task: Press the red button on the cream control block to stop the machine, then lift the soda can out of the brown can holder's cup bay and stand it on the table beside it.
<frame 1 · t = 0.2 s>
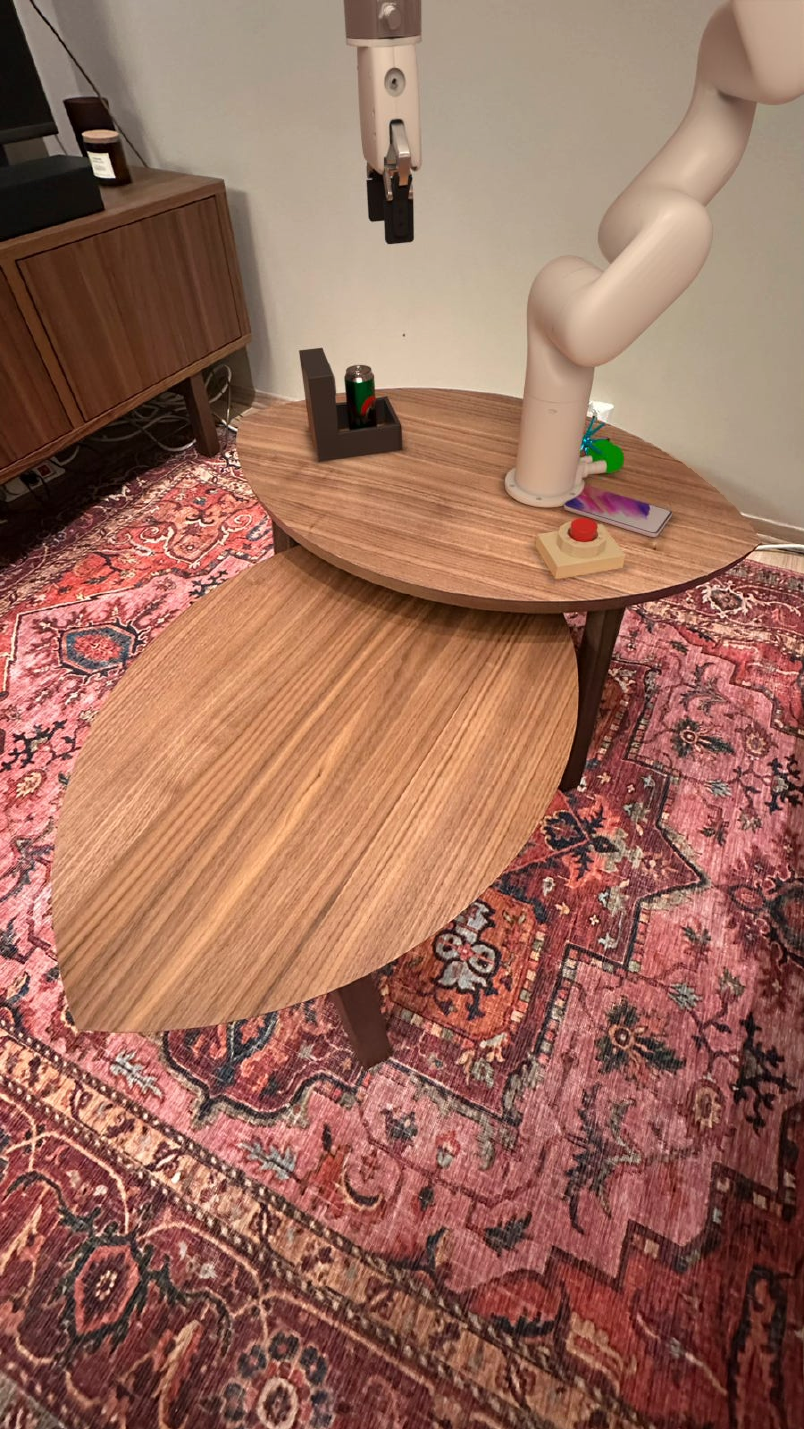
hand: (390, 231, 80), 37 cm above the table, tool pointing down, fingers open, 9 cm apart
stick construction toy: (592, 461, 116), on the table
brown can holder: (363, 439, 123), on the table
soda can: (363, 440, 123), resting in brown can holder
smartphone: (616, 514, 105), on the table, touching arm
button: (583, 530, 94), point 4 cm above the table, slide at 0.1 cm
control block: (578, 557, 98), on the table
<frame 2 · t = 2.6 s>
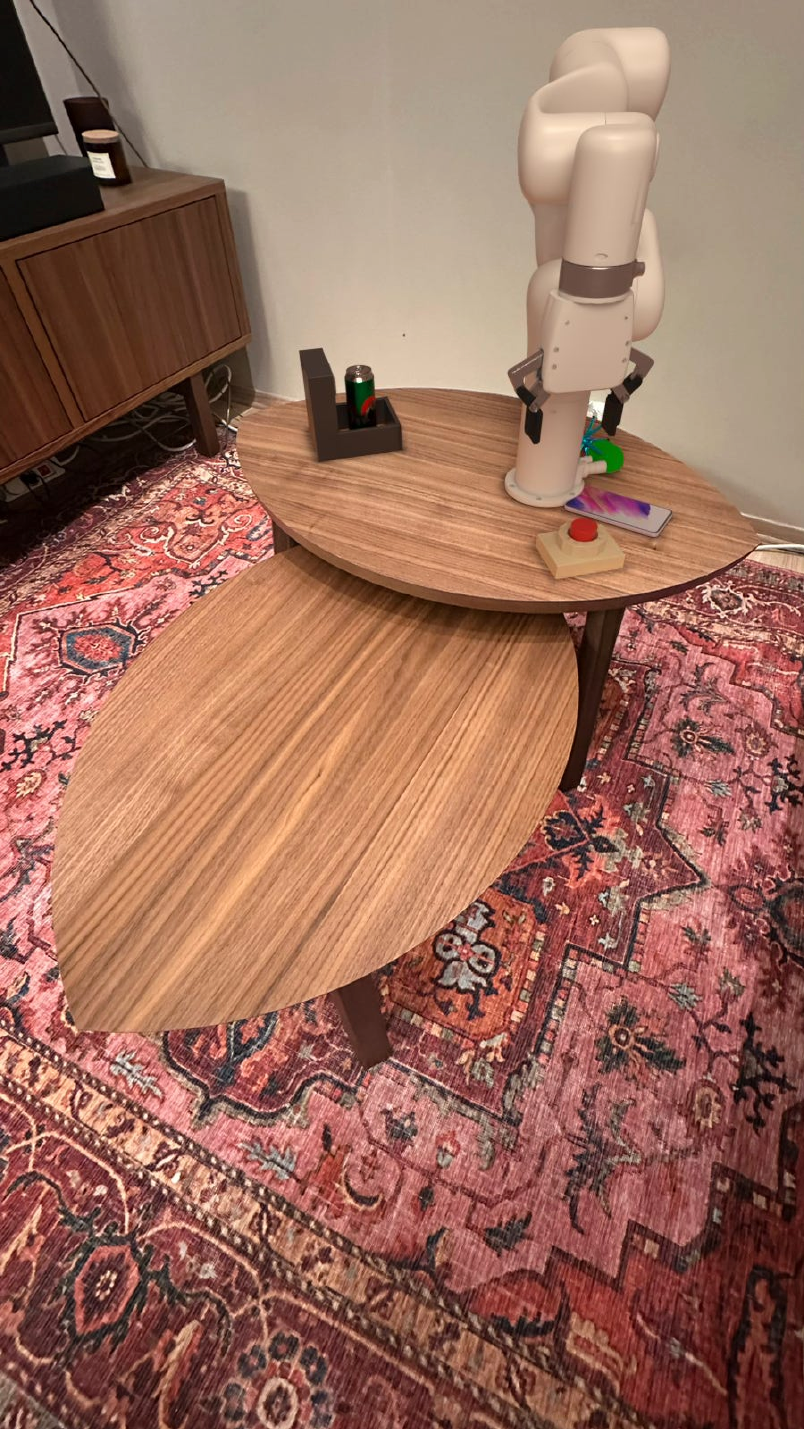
hand: (570, 435, 85), 18 cm above the table, tool pointing down, fingers open, 9 cm apart
nothing on the table moved.
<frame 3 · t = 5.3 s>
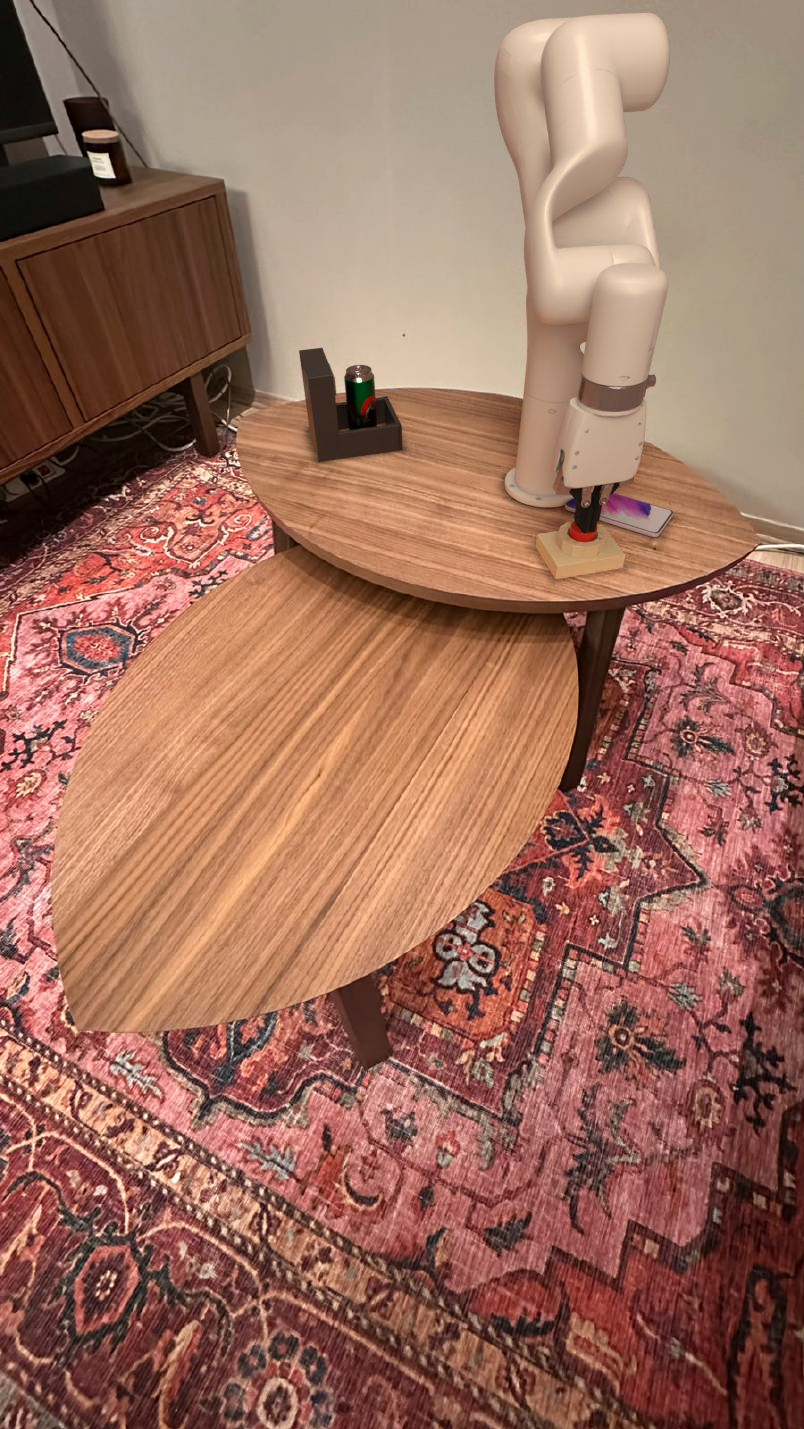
hand: (584, 527, 93), 5 cm above the table, tool pointing down, fingers closed
button: (583, 531, 94), point 4 cm above the table, slide at -0.1 cm, touching gripper
everything else where it was.
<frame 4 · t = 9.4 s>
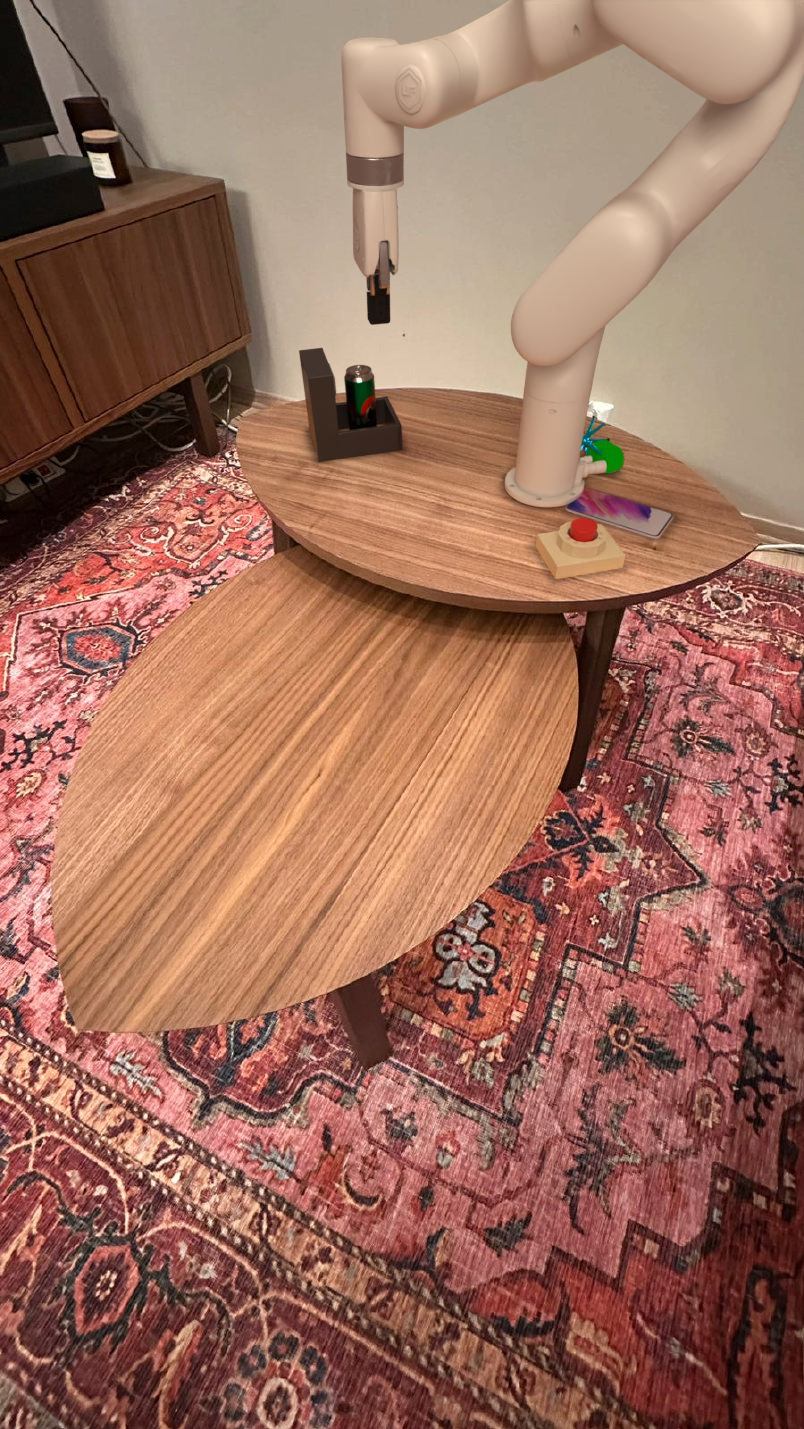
hand: (378, 321, 104), 21 cm above the table, tool pointing down, fingers closed
smartphone: (617, 516, 105), on the table
button: (583, 530, 94), point 4 cm above the table, slide at 0.1 cm
everything else where it was.
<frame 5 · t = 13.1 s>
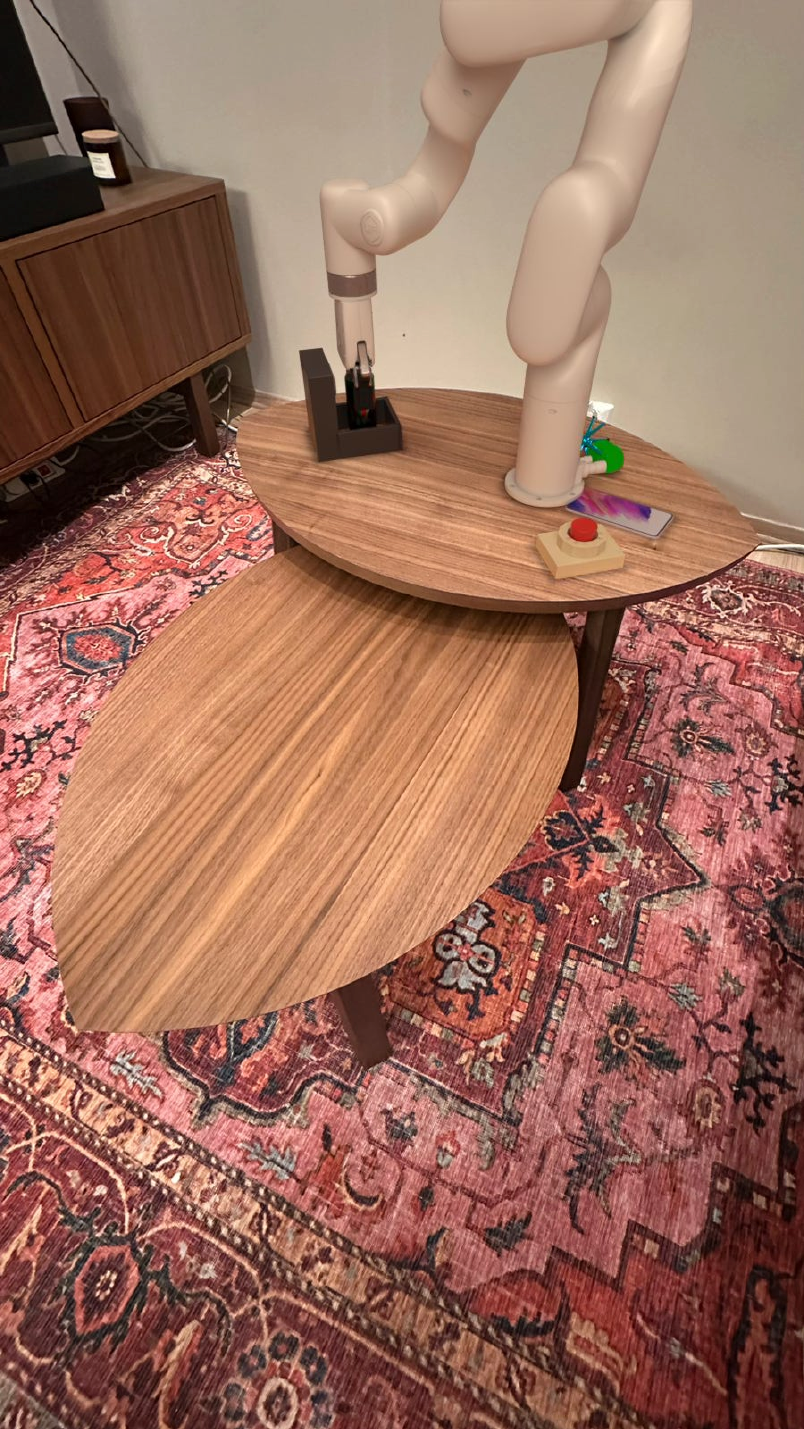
hand: (360, 401, 118), 7 cm above the table, tool pointing down, fingers closed on soda can, 5 cm apart
soda can: (363, 440, 123), resting in brown can holder, touching gripper
everything else where it was.
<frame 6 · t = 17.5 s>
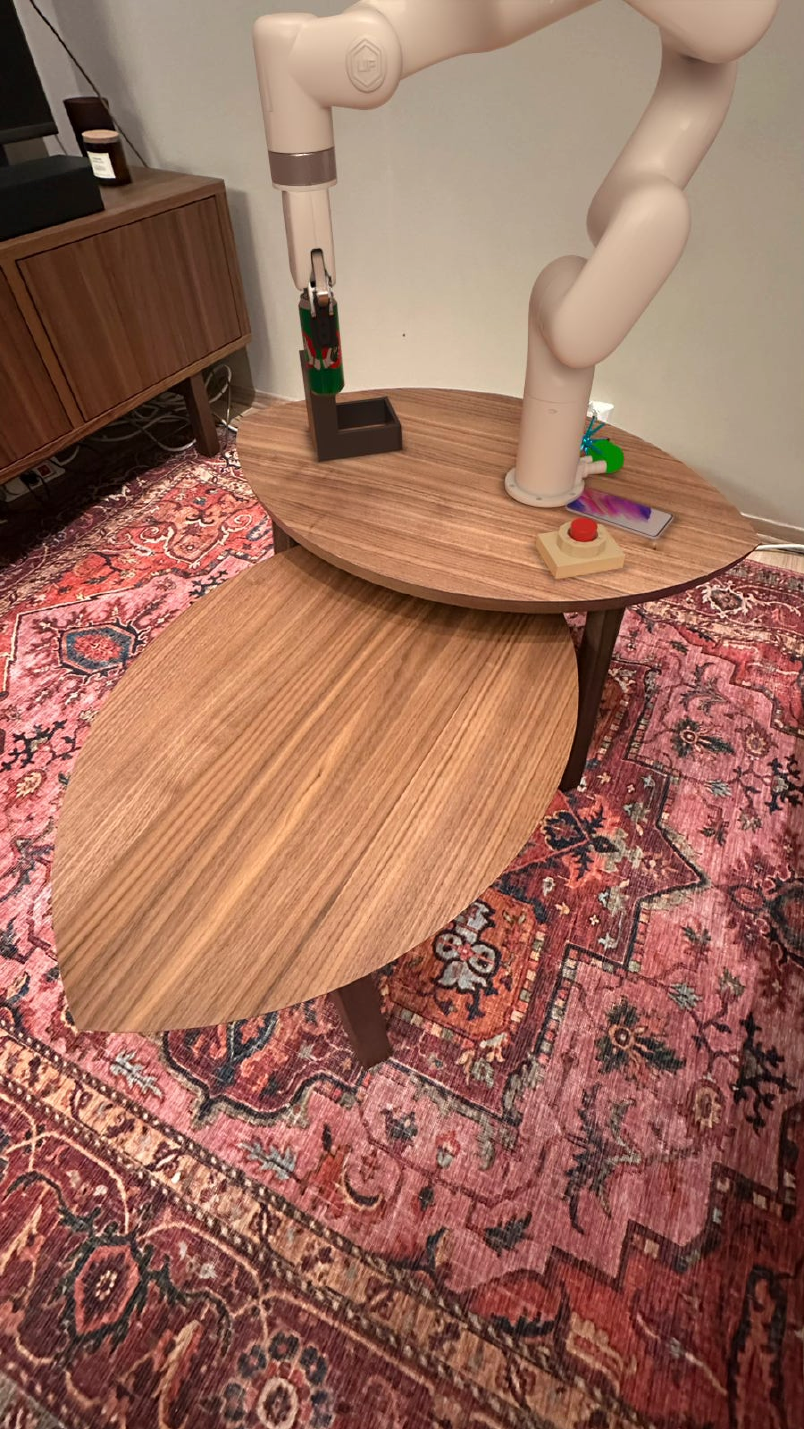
hand: (321, 338, 91), 24 cm above the table, tool pointing down, fingers closed on soda can, 5 cm apart
soda can: (327, 391, 97), point 17 cm above the table, touching gripper
everything else where it was.
when the fingers open (7 cm above the table, at t = 21.8 s): soda can stays where it is, on the table.
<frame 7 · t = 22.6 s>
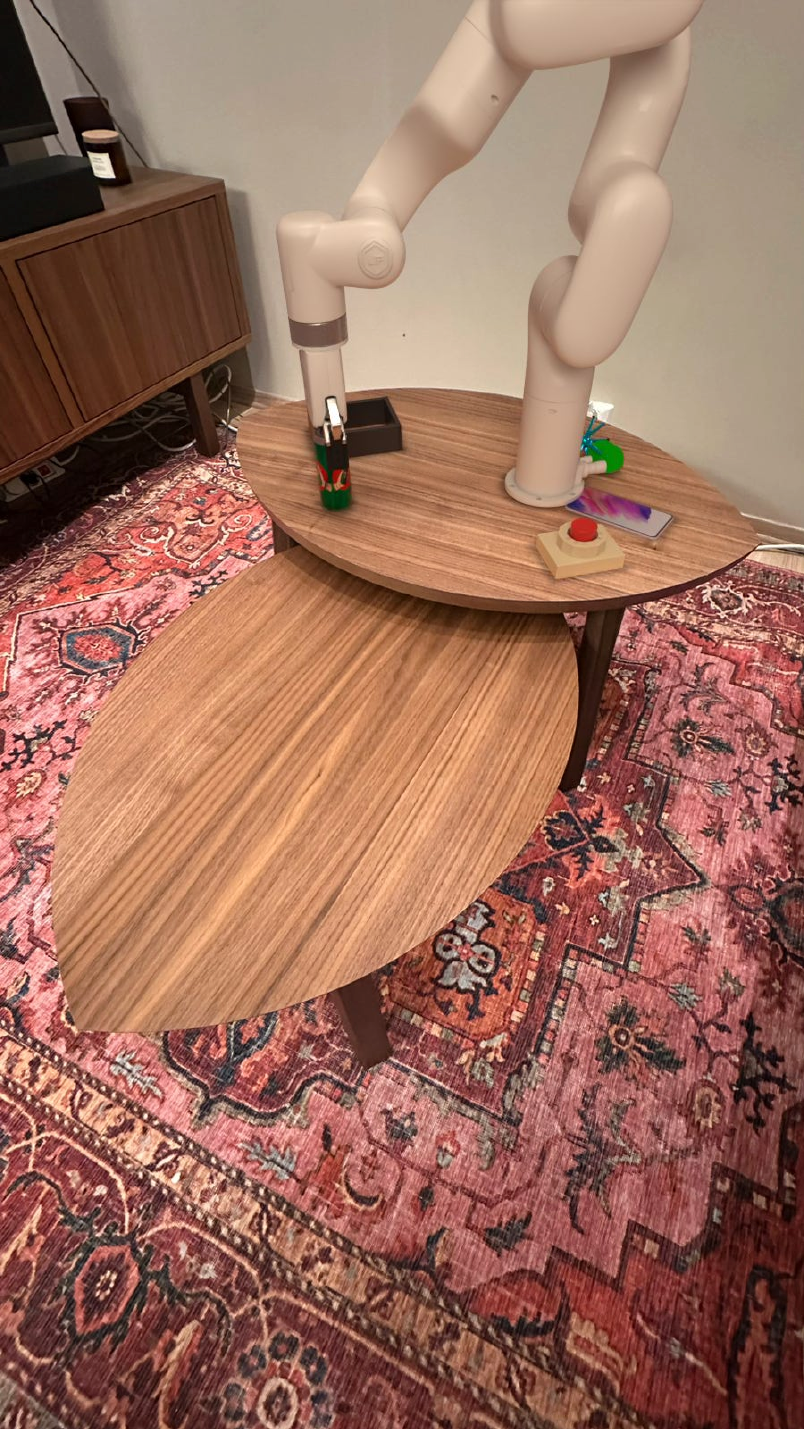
hand: (333, 453, 102), 9 cm above the table, tool pointing down, fingers open, 9 cm apart
soda can: (337, 505, 109), on the table
everything else where it was.
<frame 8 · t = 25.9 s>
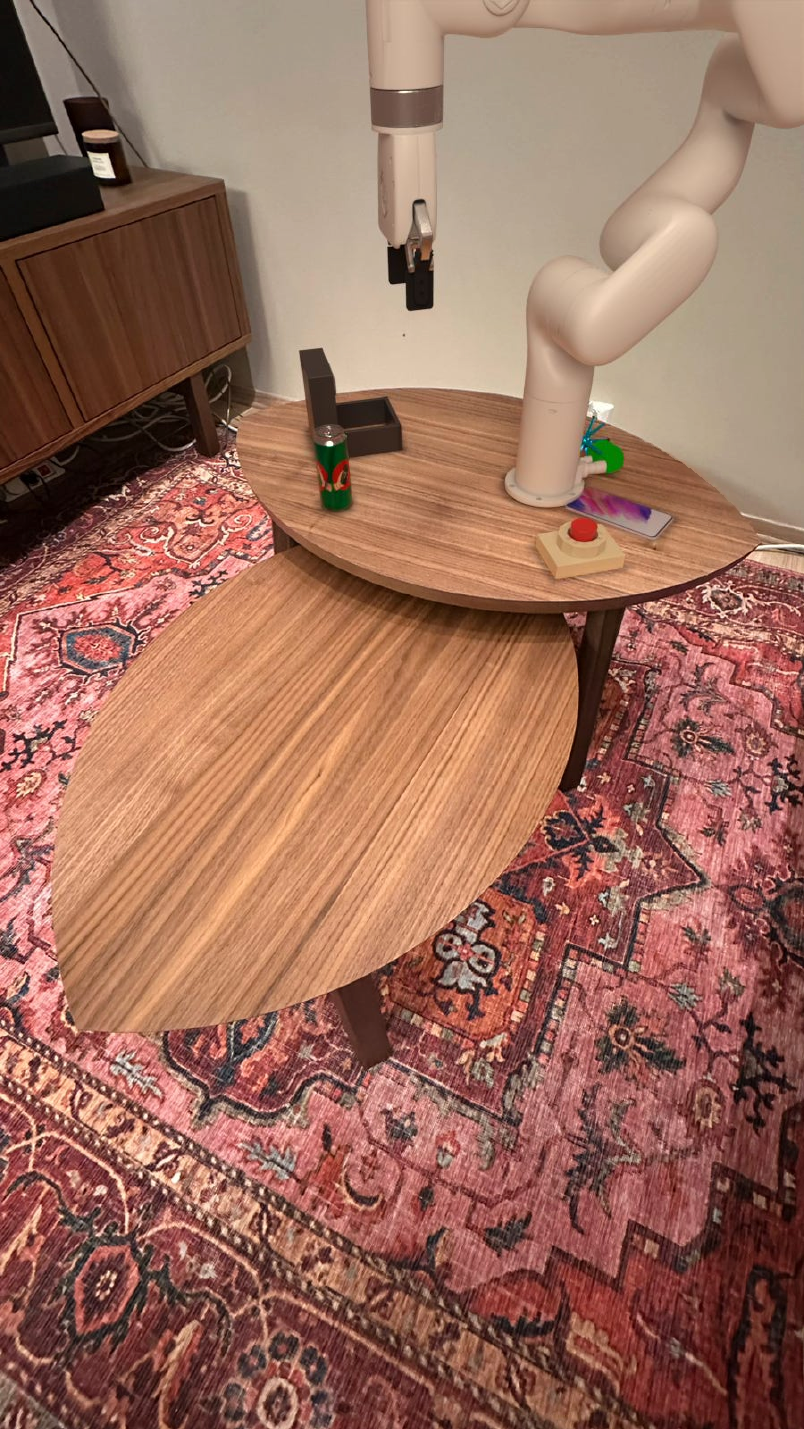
hand: (410, 295, 83), 30 cm above the table, tool pointing down, fingers open, 9 cm apart
nothing on the table moved.
at the end: button pushed in 1.0 cm at the most during the clip, back to where it started at the end; soda can inside the target area (0.1 cm from its centre), on the table; soda can tilted 0° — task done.
